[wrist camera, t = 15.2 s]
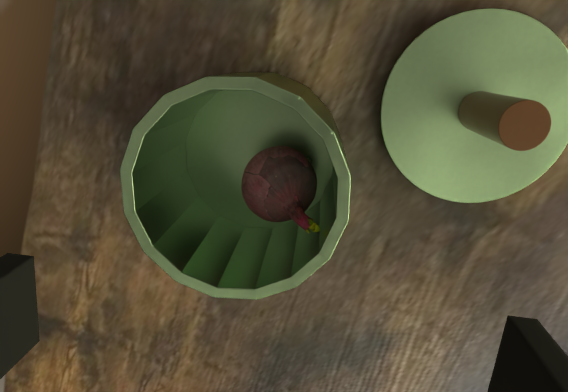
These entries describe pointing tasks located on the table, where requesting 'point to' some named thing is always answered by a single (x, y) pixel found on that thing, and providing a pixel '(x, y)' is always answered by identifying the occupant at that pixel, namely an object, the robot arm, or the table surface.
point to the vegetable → (280, 186)
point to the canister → (232, 184)
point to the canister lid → (477, 105)
